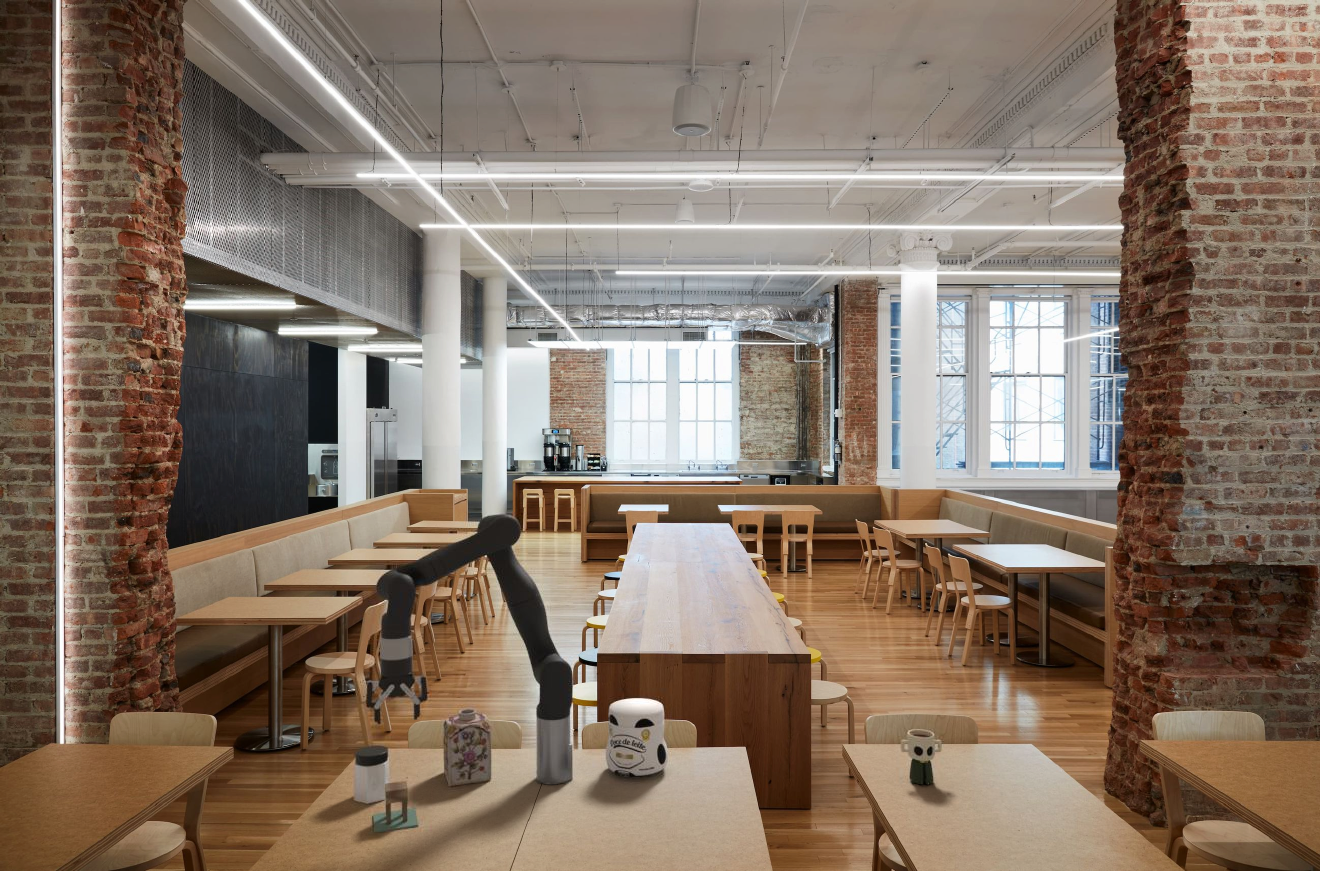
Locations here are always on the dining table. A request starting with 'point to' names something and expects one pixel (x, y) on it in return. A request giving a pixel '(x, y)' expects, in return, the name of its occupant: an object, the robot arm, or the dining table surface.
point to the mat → (395, 820)
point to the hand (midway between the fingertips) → (397, 721)
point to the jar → (371, 774)
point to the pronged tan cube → (396, 798)
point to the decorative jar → (467, 748)
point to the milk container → (636, 738)
